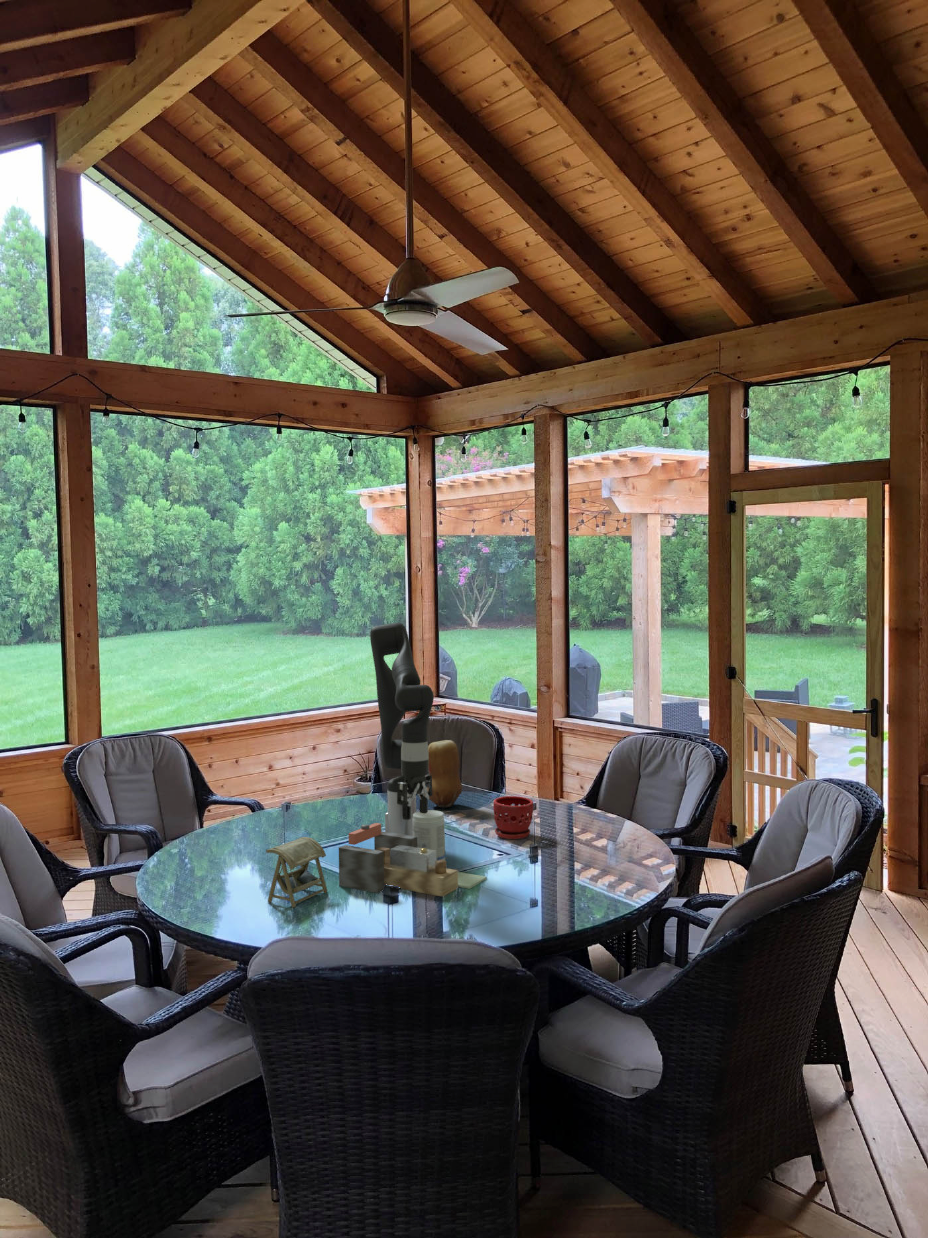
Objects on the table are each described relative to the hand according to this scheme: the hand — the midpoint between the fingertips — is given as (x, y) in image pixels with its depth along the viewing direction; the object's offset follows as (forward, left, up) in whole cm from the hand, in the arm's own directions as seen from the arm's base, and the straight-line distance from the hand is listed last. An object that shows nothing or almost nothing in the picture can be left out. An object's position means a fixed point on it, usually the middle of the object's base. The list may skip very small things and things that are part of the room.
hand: (415, 816), depth 264 cm
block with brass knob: (-1, 0, -15) cm, 15 cm away
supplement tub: (-9, +21, -20) cm, 30 cm away
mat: (+9, +10, -20) cm, 24 cm away
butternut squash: (-41, +83, -20) cm, 95 cm away
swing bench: (-23, -23, -20) cm, 38 cm away
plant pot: (0, +59, -20) cm, 62 cm away
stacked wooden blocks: (-4, 0, -19) cm, 20 cm away
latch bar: (-17, 0, -8) cm, 19 cm away
